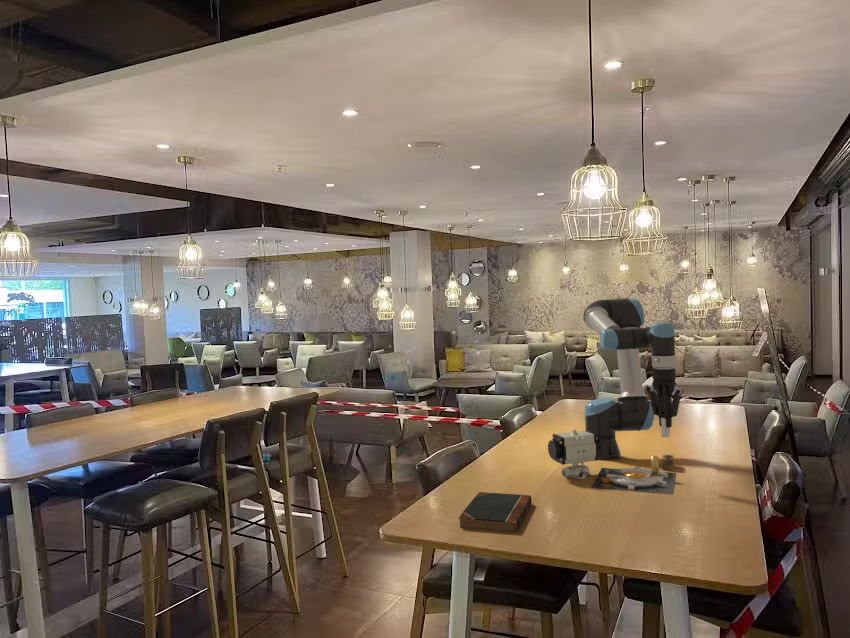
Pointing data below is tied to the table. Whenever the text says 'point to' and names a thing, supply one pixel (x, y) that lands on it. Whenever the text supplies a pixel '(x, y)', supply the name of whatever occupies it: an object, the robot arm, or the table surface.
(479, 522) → the book
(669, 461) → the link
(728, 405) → the table surface
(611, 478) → the turntable with brass post
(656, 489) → the base plate
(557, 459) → the ball valve
